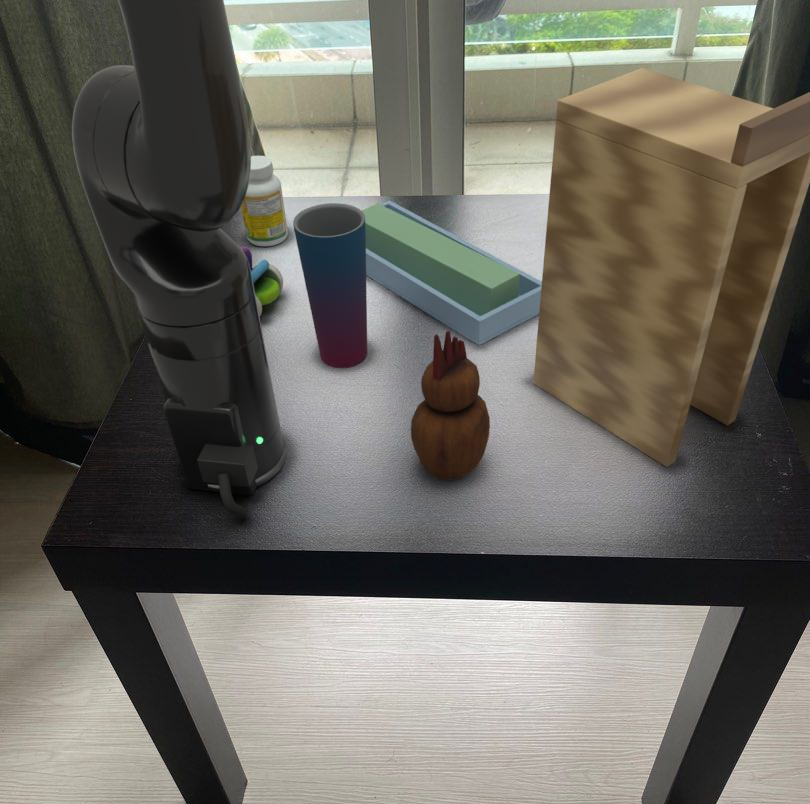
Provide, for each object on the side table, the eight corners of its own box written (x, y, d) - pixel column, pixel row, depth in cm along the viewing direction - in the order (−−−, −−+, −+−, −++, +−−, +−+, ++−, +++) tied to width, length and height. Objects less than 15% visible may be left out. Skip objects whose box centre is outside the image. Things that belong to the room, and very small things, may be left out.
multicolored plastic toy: (224, 280, 102) (212, 222, 96) (296, 293, 99) (288, 234, 94) (188, 317, 96) (172, 258, 91) (263, 332, 94) (251, 272, 88)
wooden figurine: (434, 499, 74) (432, 355, 64) (403, 461, 78) (395, 320, 67) (499, 471, 77) (507, 328, 66) (465, 436, 80) (467, 295, 69)
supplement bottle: (283, 248, 106) (271, 172, 99) (242, 247, 107) (227, 171, 100) (292, 227, 110) (282, 153, 103) (253, 226, 111) (239, 152, 104)
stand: (532, 383, 85) (560, 64, 64) (600, 345, 89) (647, 33, 68) (667, 468, 76) (752, 128, 55) (735, 420, 80) (839, 87, 59)
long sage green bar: (353, 245, 105) (350, 214, 102) (380, 233, 107) (378, 202, 104) (490, 321, 92) (491, 288, 90) (518, 306, 94) (520, 273, 91)
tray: (325, 249, 106) (322, 227, 104) (390, 222, 110) (389, 200, 108) (478, 345, 90) (479, 321, 88) (547, 309, 95) (550, 285, 92)
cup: (367, 375, 87) (355, 239, 76) (304, 370, 88) (283, 234, 78) (382, 338, 92) (372, 205, 81) (321, 334, 93) (304, 201, 82)
